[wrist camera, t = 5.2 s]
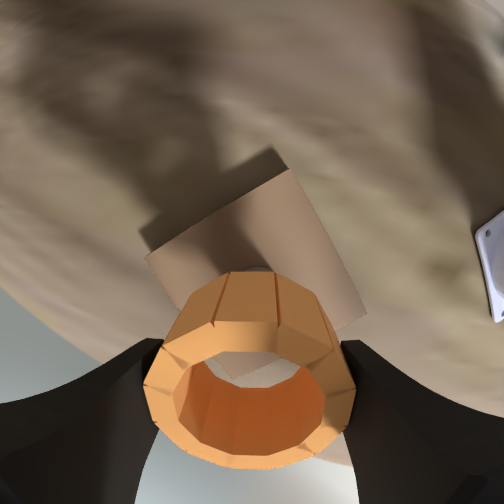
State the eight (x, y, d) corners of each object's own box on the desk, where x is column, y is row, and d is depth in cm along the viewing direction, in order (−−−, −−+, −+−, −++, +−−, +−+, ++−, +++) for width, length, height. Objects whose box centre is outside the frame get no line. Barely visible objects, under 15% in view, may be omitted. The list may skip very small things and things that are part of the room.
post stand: (288, 168, 16) (301, 167, 10) (360, 302, 18) (396, 358, 12) (153, 250, 18) (104, 288, 12) (234, 366, 20) (223, 434, 14)
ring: (284, 240, 10) (294, 277, 6) (353, 365, 11) (378, 428, 8) (147, 317, 11) (107, 371, 7) (230, 418, 12) (221, 482, 8)
